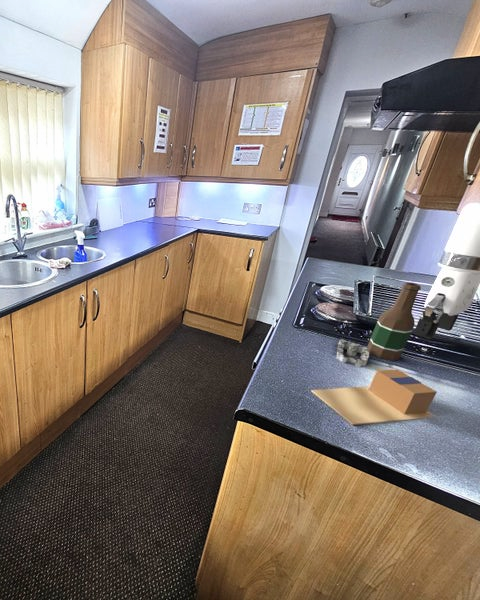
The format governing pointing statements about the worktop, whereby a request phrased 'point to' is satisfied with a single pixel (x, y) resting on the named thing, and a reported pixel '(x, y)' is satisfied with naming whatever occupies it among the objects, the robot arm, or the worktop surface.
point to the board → (363, 406)
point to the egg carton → (352, 353)
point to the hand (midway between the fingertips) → (432, 332)
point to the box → (402, 391)
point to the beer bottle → (394, 326)
